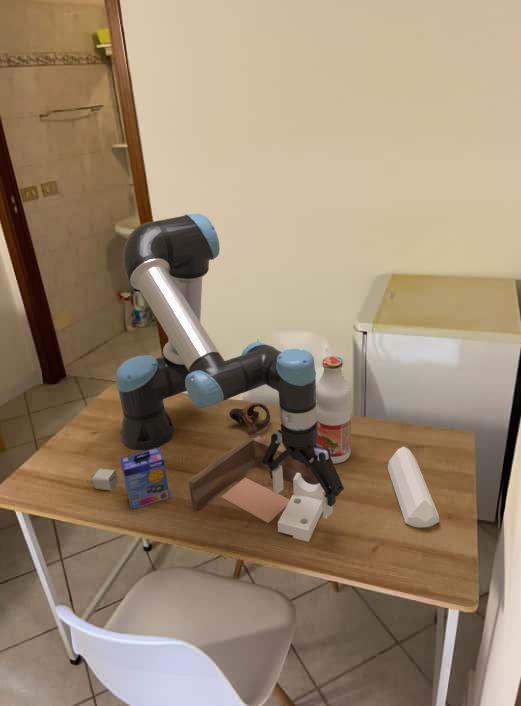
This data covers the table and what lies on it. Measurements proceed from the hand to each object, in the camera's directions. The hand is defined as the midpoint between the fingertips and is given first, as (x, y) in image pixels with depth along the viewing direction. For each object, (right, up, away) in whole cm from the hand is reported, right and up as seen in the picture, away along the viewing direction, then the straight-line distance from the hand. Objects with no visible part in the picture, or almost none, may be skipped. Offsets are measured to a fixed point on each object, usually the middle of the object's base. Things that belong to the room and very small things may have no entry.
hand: (302, 502), depth 124 cm
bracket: (0, -5, +3) cm, 6 cm away
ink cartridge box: (-37, -2, +13) cm, 39 cm away
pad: (-10, -2, +10) cm, 14 cm away
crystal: (+27, -1, +8) cm, 28 cm away
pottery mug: (-12, +12, +39) cm, 43 cm away
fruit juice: (+10, +6, +24) cm, 27 cm away
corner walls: (-9, -2, +9) cm, 13 cm away
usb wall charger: (-50, -1, +18) cm, 53 cm away
